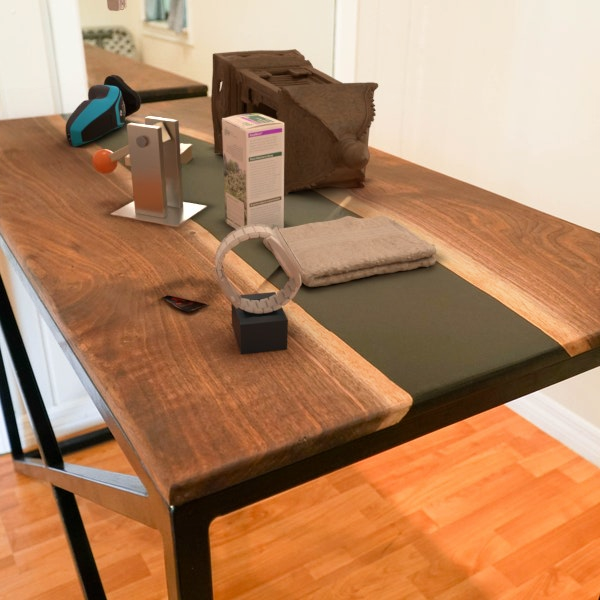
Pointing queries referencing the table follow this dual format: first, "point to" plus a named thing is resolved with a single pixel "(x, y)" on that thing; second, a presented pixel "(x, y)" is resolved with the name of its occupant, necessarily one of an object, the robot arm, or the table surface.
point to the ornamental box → (298, 114)
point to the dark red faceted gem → (183, 303)
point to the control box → (185, 154)
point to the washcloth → (355, 249)
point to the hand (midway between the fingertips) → (117, 10)
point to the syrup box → (253, 170)
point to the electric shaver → (102, 111)
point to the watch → (263, 306)
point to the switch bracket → (156, 175)
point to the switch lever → (117, 155)
